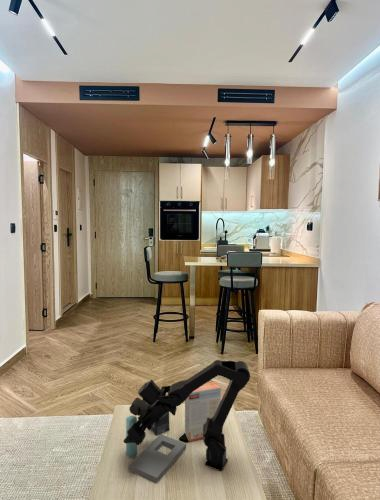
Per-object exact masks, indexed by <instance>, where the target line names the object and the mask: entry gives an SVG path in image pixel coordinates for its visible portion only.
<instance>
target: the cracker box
mask: <svg viewBox="0 0 380 500" xmlns="http://www.w3.org/2000/svg"><path fill="white" fill-rule="evenodd" d="M221 391H222V389H221V386H220V384H219V383H217V382H216V381H212V382H210V381H209V382H207V383H205V384H204V385H202V386H201V387H199V388H198V389H196V390H195V391H193V392H192V393H191V394H190V395H189V396H188V398H187V399H186V400H185V401H184V435H185V436H186V438H187V440H188V442H195V441H198V440H202V439H203V440H204V437H203V425H204V424H205V423H206V420H207V417H209V418H210V419H211V418H212V417H213V416H214V415H215V413H216V411H217V408H218V406H219V404H220V402H221V400H222V398H221V395H222V392H221Z"/></svg>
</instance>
